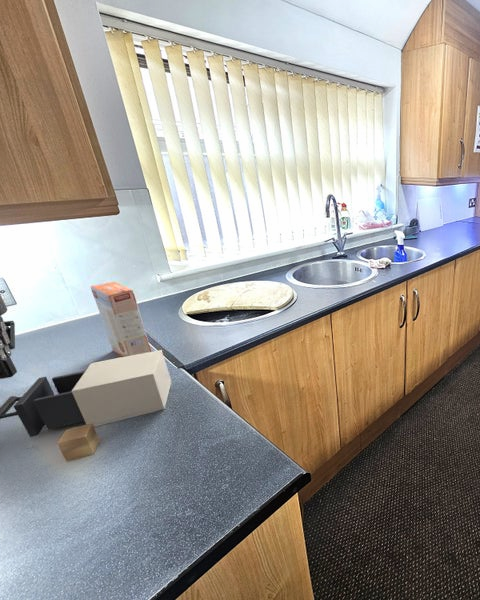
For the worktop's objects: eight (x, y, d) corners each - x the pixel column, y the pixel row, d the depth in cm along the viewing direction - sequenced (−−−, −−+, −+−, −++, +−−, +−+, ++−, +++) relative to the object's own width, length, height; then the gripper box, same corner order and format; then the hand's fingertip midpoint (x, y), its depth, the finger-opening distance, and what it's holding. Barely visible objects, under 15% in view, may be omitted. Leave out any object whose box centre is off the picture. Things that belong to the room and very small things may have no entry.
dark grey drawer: (-5, 446, 63) (-24, 414, 61) (23, 413, 72) (7, 383, 69) (108, 418, 71) (96, 388, 68) (121, 391, 79) (110, 363, 76)
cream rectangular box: (88, 428, 69) (71, 391, 66) (104, 397, 79) (91, 362, 75) (164, 409, 75) (153, 373, 71) (171, 382, 84) (161, 349, 81)
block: (65, 461, 61) (56, 443, 60) (74, 446, 64) (65, 429, 63) (93, 454, 63) (85, 436, 61) (100, 440, 66) (92, 422, 64)
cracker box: (154, 355, 96) (133, 289, 89) (130, 365, 92) (106, 295, 84) (135, 342, 104) (114, 280, 96) (112, 350, 99) (88, 285, 91)
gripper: (-41, 285, 62) (0, 364, 68) (-99, 310, 50) (-43, 401, 57) (14, 280, 65) (49, 355, 71) (-29, 302, 54) (16, 389, 60)
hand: (8, 376), depth 64 cm, fingers closed
